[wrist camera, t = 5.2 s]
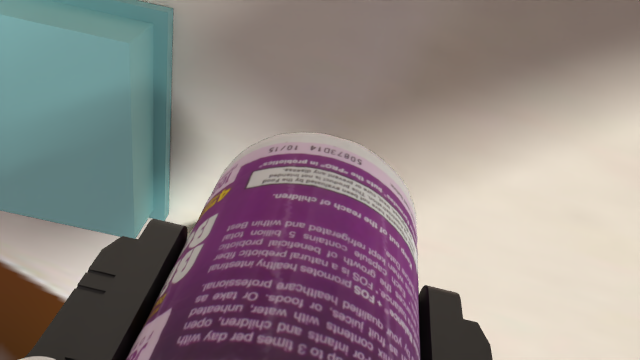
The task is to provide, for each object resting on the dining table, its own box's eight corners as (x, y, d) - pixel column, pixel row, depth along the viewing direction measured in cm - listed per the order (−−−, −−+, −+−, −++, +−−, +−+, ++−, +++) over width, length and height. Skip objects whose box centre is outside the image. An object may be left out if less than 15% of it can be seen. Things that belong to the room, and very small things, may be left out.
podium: (-93, -52, 21) (-156, -36, 19) (173, 8, 21) (144, 31, 19) (-36, 169, 28) (-78, 202, 25) (168, 214, 28) (146, 251, 25)
